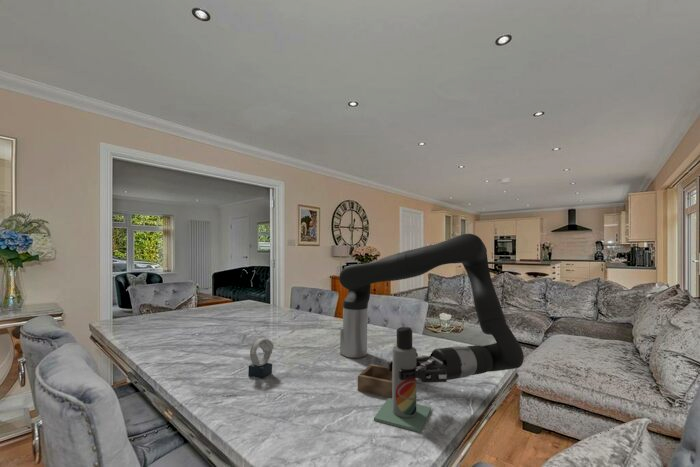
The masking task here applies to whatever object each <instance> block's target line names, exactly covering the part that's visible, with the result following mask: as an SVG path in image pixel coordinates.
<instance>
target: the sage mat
mask: <svg viewBox="0 0 700 467" xmlns="http://www.w3.org/2000/svg"><path fill="white" fill-rule="evenodd" d="M431 411H432V407H431V406H427V405H423V404H418V403H416V414H415V416H413V417H411V418H402V417H399V416H397V415H395V414H394V413H393V409H392V398H390V397H387V399H386V400H385V402H384V403H383V404H382V406H381V407H380V409H379V410H378V411H377V413H376V414H375V416H374V417H373V422H374V421H375V422H379V423H382V422H383V423H382V424H387V425H389V424H390V426H393V425H394V426H393V427H398V428H401V429H404V430H405V429H406V430H408V431H412V432H416V433H420V434H422V433H423V430H424V428H425V425H426V423H427V420H428V418H429V416H430V413H431Z"/></svg>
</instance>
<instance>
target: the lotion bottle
mask: <svg viewBox="0 0 700 467" xmlns="http://www.w3.org/2000/svg"><path fill="white" fill-rule="evenodd" d="M416 353H417V348H416V347H414V346H413V330H412V328H411V327H409V326H402V327H399V328H397V329H396V345H394V346H393V347H392V361H393V367H392V409H393V413H394V414H395V415H397V416H399V417H402V418H411V417H413V416H415V414H416V404H417V380H416V379H415V378H413V379H407V380H400V379H399V370H400V369H406V370H407V369H414V370H415V367H416Z"/></svg>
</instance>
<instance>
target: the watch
mask: <svg viewBox="0 0 700 467" xmlns="http://www.w3.org/2000/svg"><path fill="white" fill-rule="evenodd" d="M258 347H259V348H260V349H261V351H262V352H263V353H264V354H263V356H262V359H261V360H259V357H258V355H257V350H258ZM274 347H275V346H274V343H273V342H272V340H270V339H269V338H267V337H262V338H260V337H258V338H256V339H255V340H254V341H253V342H252V344H251V347H250V351H249V358H250V360H251V364H248V374H247V375H248V377H252V378H256V379H262V380H264V379H265V378H267V377H269V376H271V375H273V363H272V362H270V363H269V361H270V358H271V355H272V354H273V349H274Z"/></svg>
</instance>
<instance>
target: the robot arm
mask: <svg viewBox="0 0 700 467" xmlns="http://www.w3.org/2000/svg"><path fill="white" fill-rule="evenodd" d="M455 263H461V264H462V266H463V267H464V270H465V272H466V274H467V277H468V279H469V283H470V287H471V290H472V297H473V304H474V309H475V313H476V315H477V320H478V323H479V326H480V329H481V331H482V333H483V334H484V335H488V336H489V335H490V336H492V337H493V339H494V340H495V343H491V344H486V345H480V344H479V345H477V344H476V345H467V346H466V345H465V346H448V347H441V348H435V349H433V350H432V351H431V353H430V354H429V355H421V356H419V354H418V352H416V367H415V370H414V369H407V370H406V369H400V370H399V379H400V380H407V379H413V378H415V379H416V381H419V380H420V382H422V383H446V382H447V381H450V380H452V381H453V380H456V379H457V380H458V379H463V378H467V377H471V376H475V375H481V374H485V373H488V372H499V371H507V370H514V369H518V368H520V367H521V366H522V365H523V363H524V361H525V360H524V356H525V355H524V351H523V349H522V346H521V344H520V343H519V341H518V340H517V338H516V336H515V335H514V332H512V330H511V328H510V327H509V326H508V323H507V321H506V318H505V315H504V311H503V307H502V305H501V303H500V300H499V297H498V295H497V292H496V290H495V286H494V283H493V280H492V277H491V276H492V275H491V271H490V266H489V260H488V252H487V246H486V244H485V243H484V242H483V240H482V239H481V238H480V236H478V235H476V234H473V233H464V234H460V235H458V236H454V237H452V238H450V239H446V240H443V241H440V242H437V243H435V244H431V245H426V246H420V247H417V248H414V249H409V250H406V251H401V252H397V253H394V254H392V255H391V254H390V255H388V256H385V257H382V258H380V259H377V260H375V261H370V262H366V263H360V264H350V265H349V264H348V265H347V266H345V267H344V268H342V270H341V271H340V274H339V277H338V278H339V282H340V285H341V286H342V287H343V288H345V289H347V295H346V296H345V298H344V299H343V301H342V302H343V303H342V327H340V337H339V341H340V344H339V345H340V346H339V348H340V349H339V354H340V355H342V356H344V357H347V358H351V359H359V358H364V357H366V356H367V354H368V313H369V312H368V309H369V308H368V307H369V306H368V305H369V301H370V298H371V297H370V296H371V284H375V283H376V284H377V283H383V282H393V281H401V280H407V279H411V278H416V277H419V276H422V275H424V274H426V273H428V272H430V271H431V270H433V269H436V268H438V267H440V266H443V265H449V264H455ZM387 364H388V365H387V367H388V370H389V371H391V372H392V367H393V360H392V361H388V363H387Z"/></svg>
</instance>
